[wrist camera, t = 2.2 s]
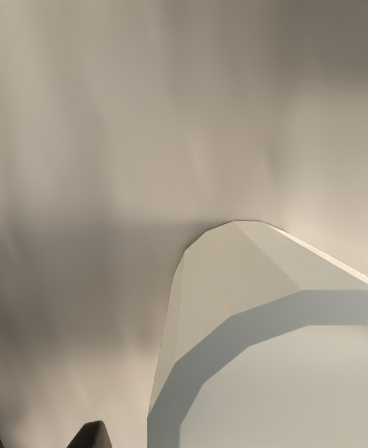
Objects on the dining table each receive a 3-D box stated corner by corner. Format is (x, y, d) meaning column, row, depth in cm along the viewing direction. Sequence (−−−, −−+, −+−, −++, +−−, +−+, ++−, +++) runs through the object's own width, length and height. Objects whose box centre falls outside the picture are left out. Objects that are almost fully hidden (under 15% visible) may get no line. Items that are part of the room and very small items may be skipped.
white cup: (359, 265, 13) (560, 405, 6) (255, 384, 14) (330, 602, 8) (225, 168, 12) (299, 213, 5) (124, 308, 13) (76, 490, 6)
